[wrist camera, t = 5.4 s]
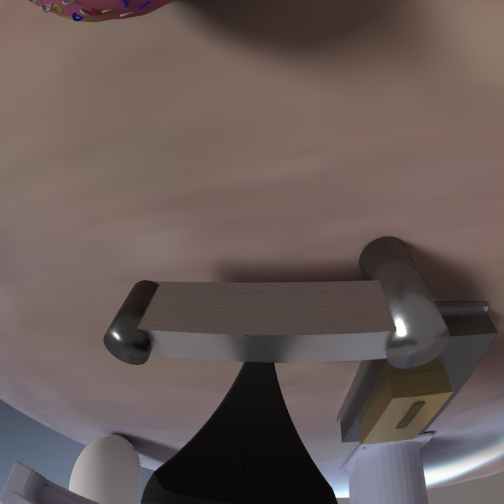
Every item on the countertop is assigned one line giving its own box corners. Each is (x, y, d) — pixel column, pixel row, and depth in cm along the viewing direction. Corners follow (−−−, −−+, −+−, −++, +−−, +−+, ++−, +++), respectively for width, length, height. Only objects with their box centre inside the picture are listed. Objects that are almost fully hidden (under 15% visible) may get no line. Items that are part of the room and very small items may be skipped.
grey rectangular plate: (416, 412, 22) (422, 435, 19) (336, 417, 22) (338, 443, 20) (485, 301, 15) (502, 328, 13) (383, 300, 16) (395, 334, 13)
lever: (159, 281, 16) (116, 366, 11) (148, 241, 15) (93, 322, 10) (401, 279, 14) (438, 368, 10) (409, 236, 13) (460, 322, 8)
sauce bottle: (158, 442, 29) (122, 580, 13) (144, 456, 32) (113, 570, 17) (93, 413, 27) (43, 549, 12) (89, 432, 31) (49, 544, 16)
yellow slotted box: (409, 420, 18) (413, 440, 16) (358, 425, 18) (361, 445, 17) (445, 370, 15) (453, 393, 13) (387, 375, 15) (393, 400, 14)
